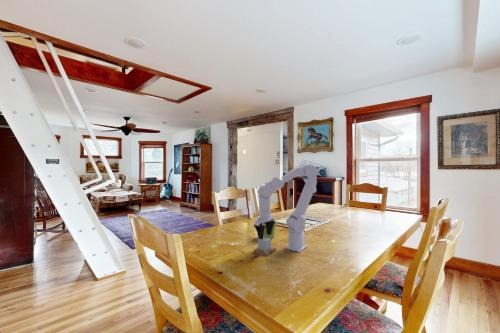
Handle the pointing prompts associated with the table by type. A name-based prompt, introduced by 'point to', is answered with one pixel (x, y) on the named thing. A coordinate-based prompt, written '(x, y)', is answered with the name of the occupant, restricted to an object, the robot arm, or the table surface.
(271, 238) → the plant pot
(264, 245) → the block
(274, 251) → the slab
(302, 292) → the table surface
